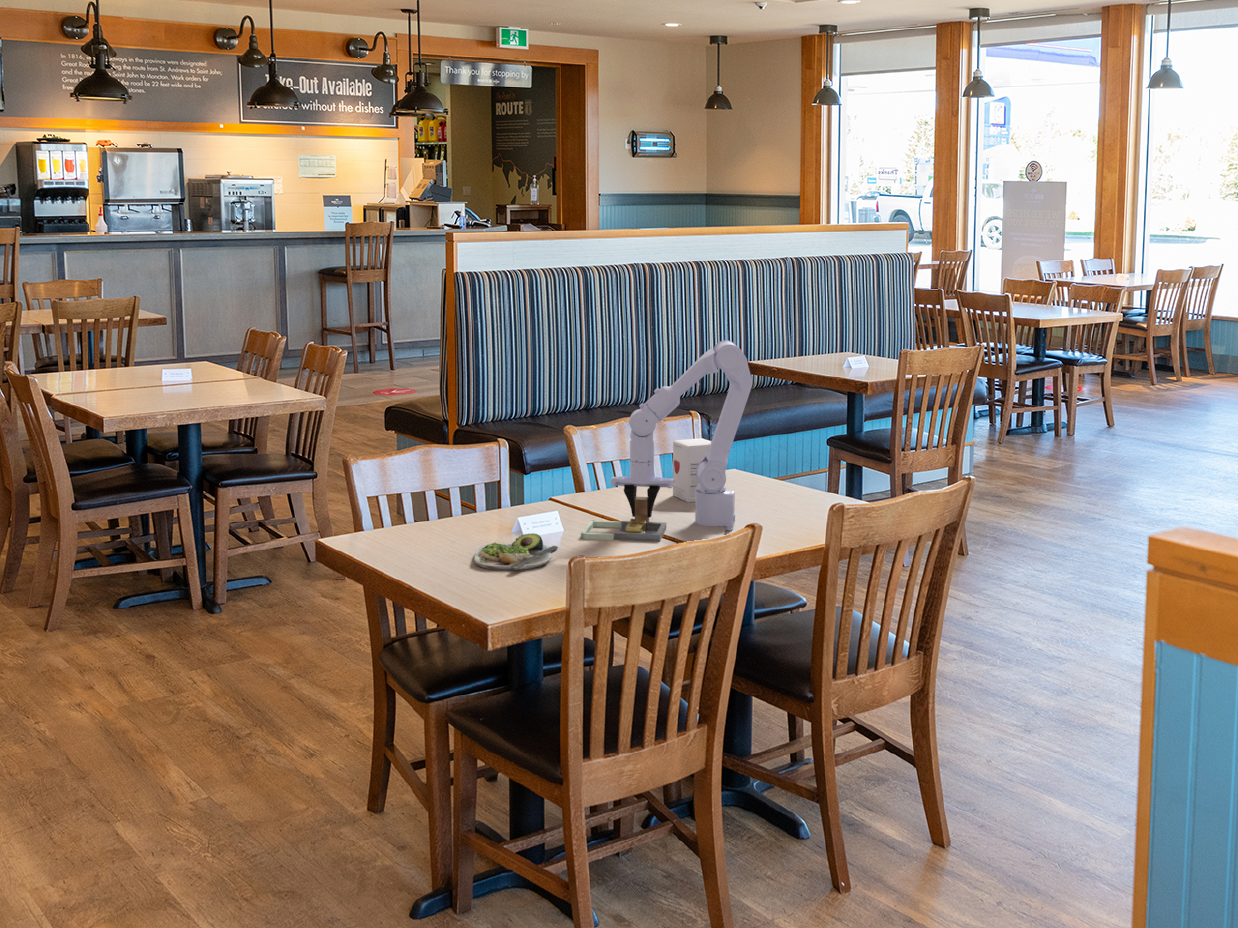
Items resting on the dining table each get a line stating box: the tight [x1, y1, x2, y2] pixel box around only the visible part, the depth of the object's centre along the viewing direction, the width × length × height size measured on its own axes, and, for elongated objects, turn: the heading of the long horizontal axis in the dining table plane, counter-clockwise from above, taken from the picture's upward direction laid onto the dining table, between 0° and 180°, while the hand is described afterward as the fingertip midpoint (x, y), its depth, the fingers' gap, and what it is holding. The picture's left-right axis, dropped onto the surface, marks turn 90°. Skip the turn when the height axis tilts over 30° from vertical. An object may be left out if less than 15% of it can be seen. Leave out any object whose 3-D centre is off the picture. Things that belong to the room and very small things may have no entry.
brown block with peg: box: [634, 496, 650, 522], centre depth 292 cm, size 3×8×7 cm, turn 170°
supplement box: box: [672, 437, 712, 503], centre depth 321 cm, size 9×9×15 cm
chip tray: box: [580, 520, 622, 541], centre depth 284 cm, size 8×12×2 cm, turn 170°
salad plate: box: [473, 533, 559, 571], centre depth 264 cm, size 19×18×5 cm
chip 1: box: [626, 524, 643, 533], centre depth 280 cm, size 4×4×2 cm
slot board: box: [613, 520, 667, 542], centre depth 282 cm, size 10×11×2 cm
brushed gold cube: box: [629, 518, 646, 533], centre depth 284 cm, size 4×4×2 cm
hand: (642, 516), depth 292 cm, fingers closed on brown block with peg, 3 cm apart
